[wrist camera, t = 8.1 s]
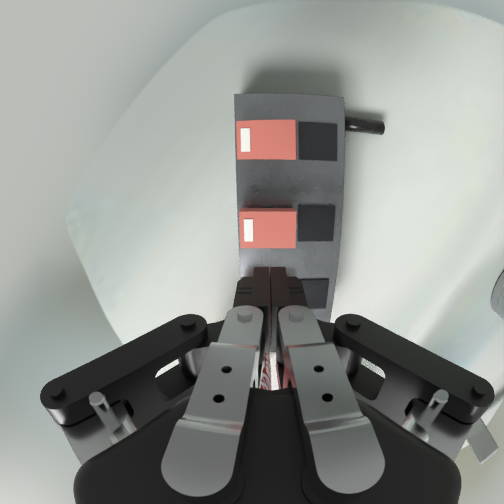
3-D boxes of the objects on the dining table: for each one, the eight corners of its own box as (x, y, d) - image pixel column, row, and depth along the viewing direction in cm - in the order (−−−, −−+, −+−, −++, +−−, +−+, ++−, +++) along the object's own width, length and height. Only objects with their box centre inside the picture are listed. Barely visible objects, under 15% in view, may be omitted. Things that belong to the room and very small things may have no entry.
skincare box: (457, 423, 46) (476, 465, 31) (478, 407, 44) (499, 447, 29) (460, 429, 48) (478, 467, 33) (479, 415, 46) (499, 452, 31)
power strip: (378, 109, 23) (398, 105, 18) (361, 303, 31) (373, 325, 27) (238, 101, 23) (233, 93, 19) (244, 307, 31) (242, 331, 27)
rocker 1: (296, 121, 19) (295, 119, 18) (297, 159, 20) (295, 159, 19) (240, 122, 20) (235, 121, 19) (241, 158, 21) (236, 159, 20)
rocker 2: (295, 208, 22) (296, 211, 21) (294, 243, 23) (295, 248, 22) (240, 208, 22) (238, 211, 21) (241, 243, 23) (240, 248, 22)
